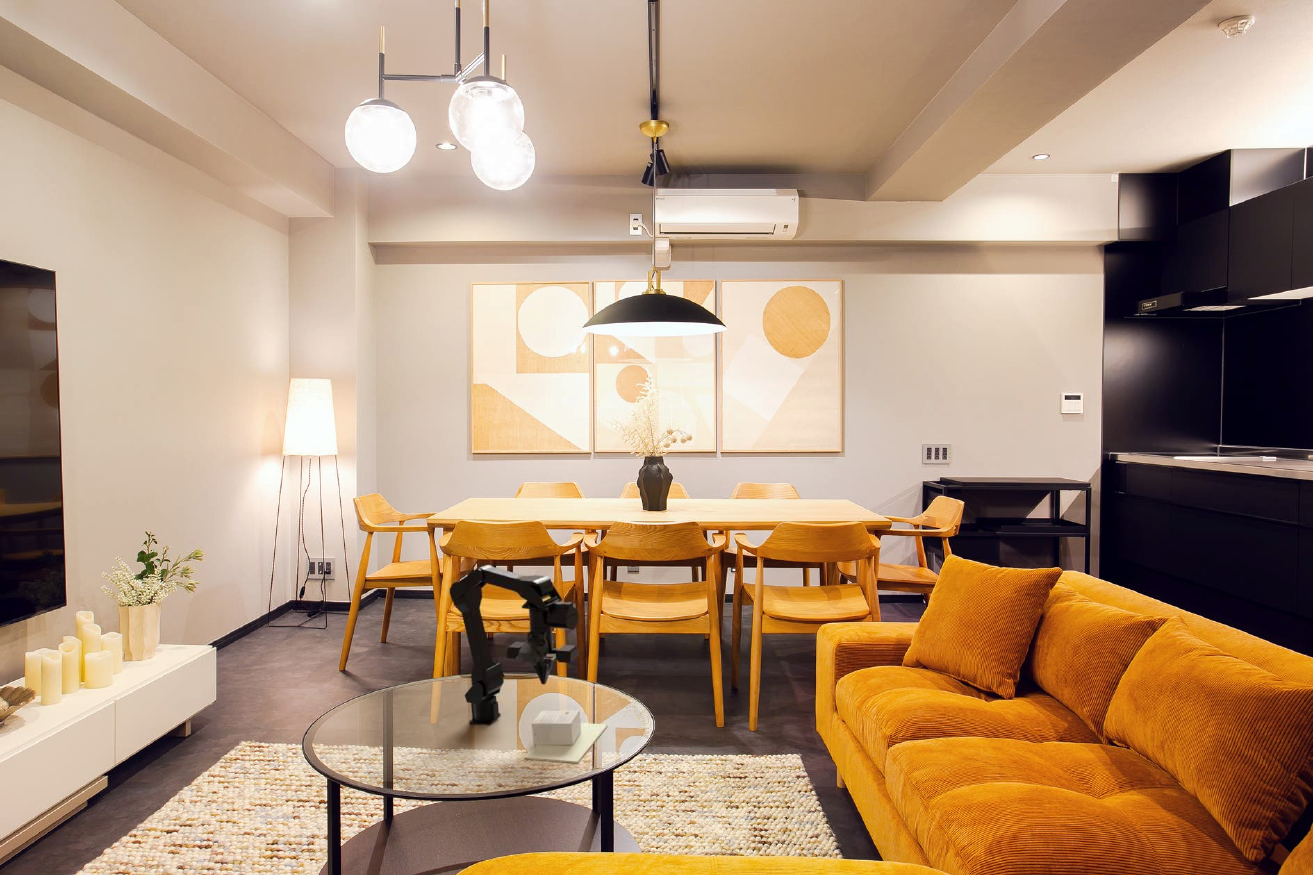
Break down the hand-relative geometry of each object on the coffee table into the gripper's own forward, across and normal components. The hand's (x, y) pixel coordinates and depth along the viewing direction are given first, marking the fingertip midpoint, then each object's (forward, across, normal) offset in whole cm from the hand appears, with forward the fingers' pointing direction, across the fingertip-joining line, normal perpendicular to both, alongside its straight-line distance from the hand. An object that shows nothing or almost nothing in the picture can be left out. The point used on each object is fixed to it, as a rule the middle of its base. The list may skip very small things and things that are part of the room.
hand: (543, 683), depth 188 cm
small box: (+9, 0, -5) cm, 11 cm away
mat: (+12, +9, -5) cm, 16 cm away
